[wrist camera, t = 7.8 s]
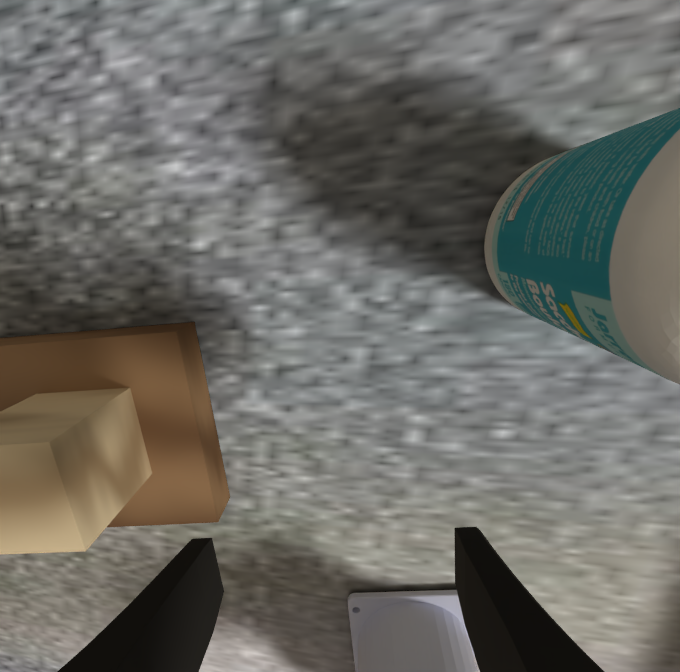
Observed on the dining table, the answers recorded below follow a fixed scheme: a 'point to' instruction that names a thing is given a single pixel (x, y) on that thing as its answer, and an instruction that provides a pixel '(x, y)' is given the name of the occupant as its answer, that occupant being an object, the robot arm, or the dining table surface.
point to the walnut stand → (137, 408)
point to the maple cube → (67, 468)
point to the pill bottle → (599, 243)
